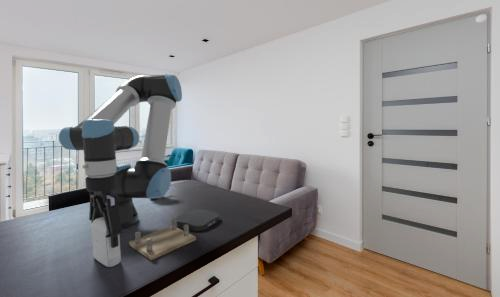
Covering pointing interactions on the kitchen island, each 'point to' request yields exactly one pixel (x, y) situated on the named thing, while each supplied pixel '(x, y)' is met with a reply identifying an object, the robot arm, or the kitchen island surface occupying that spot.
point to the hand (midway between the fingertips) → (106, 250)
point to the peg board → (162, 241)
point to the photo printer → (102, 243)
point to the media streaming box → (197, 219)
